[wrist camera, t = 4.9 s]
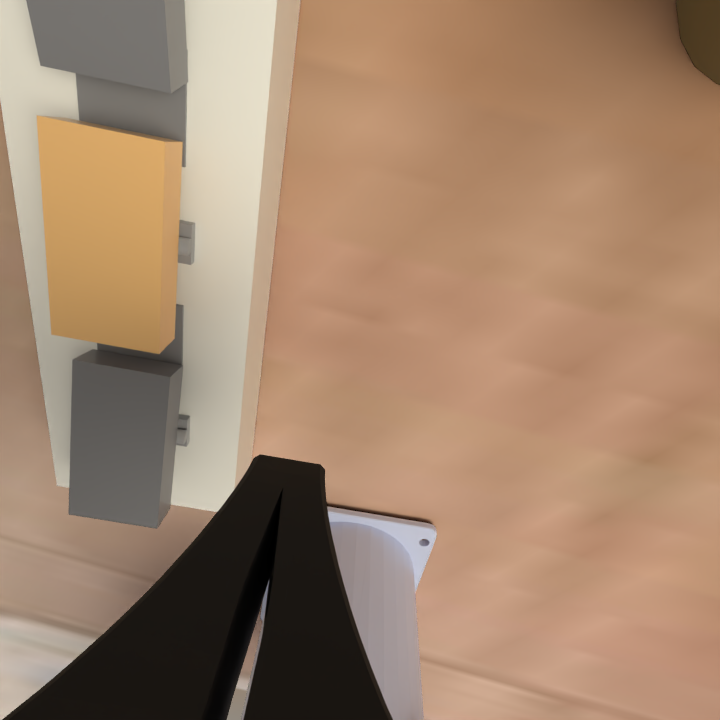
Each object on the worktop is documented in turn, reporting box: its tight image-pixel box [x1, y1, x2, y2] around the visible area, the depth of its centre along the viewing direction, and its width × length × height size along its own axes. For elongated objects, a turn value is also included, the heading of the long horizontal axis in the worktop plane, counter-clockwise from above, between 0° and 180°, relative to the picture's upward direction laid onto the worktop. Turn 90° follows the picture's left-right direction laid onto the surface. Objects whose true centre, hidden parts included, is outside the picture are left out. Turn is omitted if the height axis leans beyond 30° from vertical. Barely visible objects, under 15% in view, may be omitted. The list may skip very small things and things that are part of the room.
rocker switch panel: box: [0, 0, 301, 512], centre depth 14 cm, size 28×7×4 cm, turn 169°
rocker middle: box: [36, 115, 183, 354], centre depth 13 cm, size 6×3×1 cm, turn 169°
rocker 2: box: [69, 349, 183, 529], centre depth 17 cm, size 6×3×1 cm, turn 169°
